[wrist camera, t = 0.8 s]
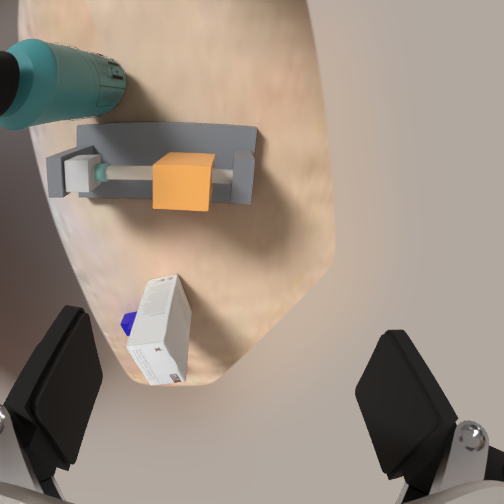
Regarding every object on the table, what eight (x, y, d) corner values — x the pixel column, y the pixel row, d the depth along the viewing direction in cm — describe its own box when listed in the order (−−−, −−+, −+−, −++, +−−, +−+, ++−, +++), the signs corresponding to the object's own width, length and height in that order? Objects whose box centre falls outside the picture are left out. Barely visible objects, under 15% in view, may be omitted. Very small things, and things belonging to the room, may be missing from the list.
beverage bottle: (145, 83, 27) (36, 63, 9) (103, 129, 29) (-25, 169, 11) (107, 47, 25) (-15, 7, 7) (68, 93, 27) (-68, 105, 9)
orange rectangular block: (169, 152, 26) (153, 164, 20) (215, 154, 26) (210, 166, 21) (168, 187, 27) (152, 208, 21) (212, 189, 27) (208, 211, 22)
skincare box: (146, 279, 37) (120, 345, 26) (180, 272, 37) (163, 339, 26) (164, 318, 40) (147, 387, 29) (195, 312, 40) (186, 383, 29)
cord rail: (82, 124, 28) (41, 133, 21) (256, 127, 30) (264, 133, 22) (84, 193, 32) (47, 220, 24) (248, 200, 34) (254, 230, 26)
